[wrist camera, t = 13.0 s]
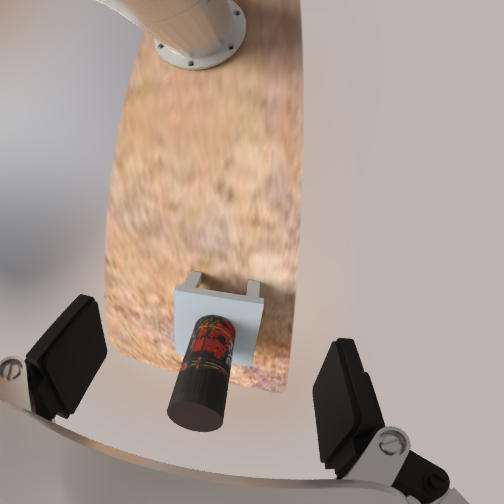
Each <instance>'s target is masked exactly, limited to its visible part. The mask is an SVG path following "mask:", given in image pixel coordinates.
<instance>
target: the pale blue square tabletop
mask: <svg viewBox="0 0 504 504" xmlns="http://www.w3.org/2000/svg"><path fill="white" fill-rule="evenodd" d="M201 276H202V272H196V271H190V272H189V274H188V276H187V278H186V280H185V282H184V284H183V285H178V284H177V285H176V287H175V289H174V337H175V354H178V355H183V356H185V353H186V350H187V347H188V344H189V341H190V338H191V335H192V332H193V329H194V326H195V324H196V322H197V321H198V319H200V318H201V317H203V316H206V315H218V316H222V317H224V318H226V319H227V320H229V321H230V322H231V323H232V324H233V326H234V327H235V331H236V335H235V342H234V349H233V356H232V363H231V364H236V365H243V366H250V367H251V365H252V360H253V356H254V351H255V346H256V341H257V337H258V332H259V327H260V322H261V317H262V312H263V307H264V298H259V293H260V281H254V280H248V285H247V292H246V295H239V294H232V293H226V292H220V291H213V290H207V289H201V288H199V286H200V284H201Z"/></svg>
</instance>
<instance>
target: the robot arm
mask: <svg viewBox="0 0 504 504" xmlns="http://www.w3.org/2000/svg"><path fill="white" fill-rule="evenodd" d="M95 1H98V2H100V3H102V4H104V5H106V6H108V7H110V8H111V9H113V10H115V11H116V12H118V13H120V14H121V15H123V16H124V17H125V18H127V19H128V20H130V21H131V22H133V23H134V24H135V25H137V26H138V27H140V28H141V29H142V30H144V31H145V32H147V33H148V34H149V35H151V36H152V37H153V38H154V43H155V47H156V49H157V52H158V53H159V55H160V56H161V57H162V58H163V59H164V60H165V61H166V62H168V63H169V64H171V65H173V66H175V67H177V68H181V69H185V70H203V69H207V68H211V67H214V66H216V65H218V64H221V63H222V62H224V61H226V60H227V59H229V58H230V57H231V56H232V55H233V54H234V53H235V52H236V51H237V50H238V49H239V47H240V46H241V44H242V42H243V41H244V38H245V35H246V26H247V25H246V19H245V16H244V13H243V11H242V10H241V8H240V7H239V6H238V5H237V4H236V3H235V2H234V1H233V0H95ZM237 14H239V15H238V16H236V15H237ZM163 46H164V47H163ZM162 47H163V48H162ZM230 47H233V49H232V50H230ZM193 63H194V65H193V66H191V64H193ZM106 355H107V347H106V343H105V338H104V333H103V329H102V324H101V319H100V314H99V309H98V303H97V302H96V301H95V299H94V298H93V297H90V296H87V295H83V294H80V295H79V296H78V297H77V298H76V299H75V300H74V301H73V302H72V303H71V304H70V306H69V307H67V309H66V310H65V311H64V312H63V313H62V314H61V315H60V316H59V317H58V318H57V320H56V321H55V322H54V323H53V324H52V325H51V326H50V327H49V329H48V330H47V331H46V332H45V333H44V334H43V336H42V337H41V338H40V339H39V341H37V343H36V344H35V345H34V346H33V348H32V349H31V350H30V351H29V352H28V354H27V355H26V359H25V361H24V360H23V359H21V358H20V357H18V356H9V357H6V358H4V359H3V360H1V362H0V504H469V503H468V502H467V501H466V500H465V499H464V498H463V496H462V495H461V494H460V493H459V492H458V491H457V490H456V489H455V488H452V489H450V488H449V485H450V481H449V477H448V475H447V473H446V472H445V471H444V470H443V469H441V468H440V467H438V466H436V465H435V464H433V463H431V462H429V461H428V460H426V459H424V458H422V457H421V456H419V455H417V454H416V453H414V452H412V451H411V450H410V440H409V437H408V436H407V434H406V433H405V432H404V431H402V430H401V429H399V428H396V427H385V423H384V420H383V417H382V413H381V411H380V407H379V404H378V401H377V397H376V394H375V391H374V388H373V385H372V382H371V379H370V376H369V374H368V373H367V372H364V369H363V366H362V363H361V360H360V357H359V354H358V351H357V348H356V345H355V343H354V340H353V339H346V338H338V339H337V341H334V342H332V344H331V346H330V349H329V351H328V353H327V356H326V358H325V361H324V363H323V365H322V368H321V370H320V372H319V374H318V377H317V379H316V381H315V384H314V386H313V401H314V408H315V417H316V425H317V434H318V442H319V452H320V460H321V462H322V463H325V469H335V474H336V475H337V476H336V477H335V478H334V479H328V480H325V479H324V480H323V479H322V480H321V479H320V480H289V479H264V478H252V477H241V476H232V475H224V474H218V473H211V472H205V471H199V470H194V469H189V468H184V467H178V466H175V465H170V464H166V463H162V462H158V461H154V460H151V459H147V458H144V457H140V456H137V455H134V454H130V453H127V452H124V451H121V450H118V449H115V448H113V447H110V446H107V445H104V444H102V443H99V442H96V441H94V440H91V439H89V438H87V437H84V436H82V435H79V434H77V433H75V432H72V431H70V430H68V429H66V428H63V427H62V426H59V425H57V424H56V423H55V419H54V418H55V416H56V414H57V415H59V416H61V417H63V418H65V419H68V417H69V415H70V414H73V413H74V412H75V410H76V408H77V407H78V405H79V403H80V401H81V399H82V398H83V396H84V394H85V392H86V390H87V389H88V387H89V385H90V383H91V382H92V380H93V378H94V376H95V375H96V373H97V371H98V370H99V368H100V366H101V364H102V363H103V361H104V359H105V358H106Z"/></svg>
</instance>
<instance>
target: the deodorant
mask: <svg viewBox="0 0 504 504" xmlns="http://www.w3.org/2000/svg"><path fill="white" fill-rule="evenodd" d="M235 335H236V331H235V327H234V326H233V324H232V323H231V322H230V321H229V320H227V319H226V318H224V317H222V316H218V315H206V316H203V317H201V318H200V319H198V321H197V322H196V324H195V326H194V329H193V332H192V335H191V338H190V341H189V344H188V347H187V350H186V353H185V356H184V359H183V362H182V365H181V368H180V371H179V375H178V378H177V381H176V384H175V387H174V390H173V393H172V396H171V400H170V403H169V406H168V409H167V414H168V416H169V418H170V419H171V420H172V421H173V422H174V423H176V424H177V425H179V426H181V427H183V428H186V429H189V430H193V431H199V432H209V431H214V430H217V429H218V428H220V427H221V426H222V424H223V418H224V410H225V404H226V397H227V390H228V383H229V376H230V370H231V363H232V356H233V349H234V342H235Z"/></svg>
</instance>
